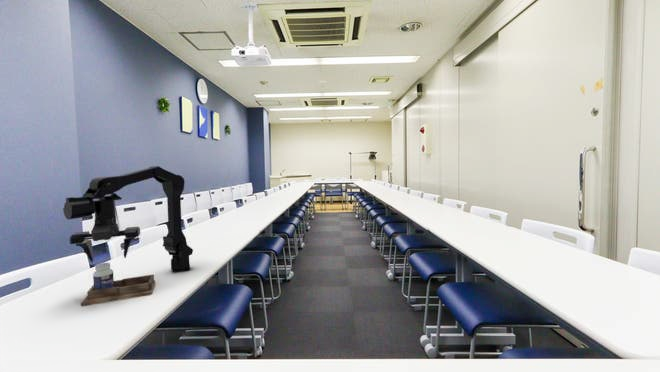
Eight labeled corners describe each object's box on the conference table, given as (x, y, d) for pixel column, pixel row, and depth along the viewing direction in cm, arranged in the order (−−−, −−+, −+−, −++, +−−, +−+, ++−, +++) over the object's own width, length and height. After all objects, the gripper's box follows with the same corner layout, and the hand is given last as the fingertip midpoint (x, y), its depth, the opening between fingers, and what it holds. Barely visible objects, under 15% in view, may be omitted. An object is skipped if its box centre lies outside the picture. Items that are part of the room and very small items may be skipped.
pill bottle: (103, 297, 98) (101, 267, 98) (90, 295, 100) (88, 266, 99) (118, 290, 104) (116, 262, 103) (106, 289, 105) (104, 261, 104)
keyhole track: (155, 282, 113) (154, 273, 113) (151, 294, 102) (151, 284, 102) (92, 292, 105) (91, 282, 105) (81, 306, 94) (80, 295, 94)
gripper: (61, 221, 91) (65, 271, 92) (134, 215, 99) (137, 261, 100) (73, 215, 101) (77, 261, 103) (139, 210, 109) (142, 253, 110)
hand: (109, 259), depth 104 cm, fingers open, 9 cm apart
